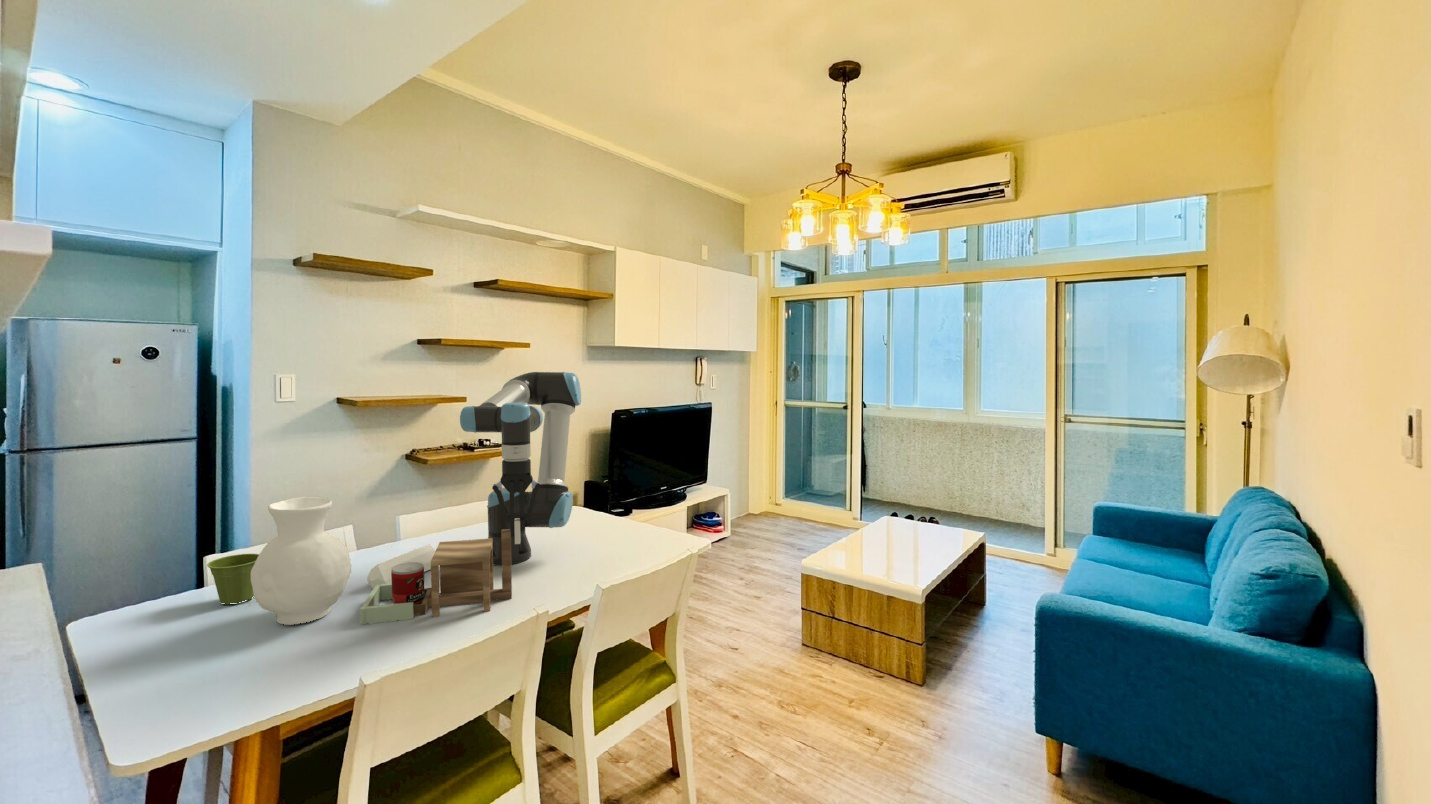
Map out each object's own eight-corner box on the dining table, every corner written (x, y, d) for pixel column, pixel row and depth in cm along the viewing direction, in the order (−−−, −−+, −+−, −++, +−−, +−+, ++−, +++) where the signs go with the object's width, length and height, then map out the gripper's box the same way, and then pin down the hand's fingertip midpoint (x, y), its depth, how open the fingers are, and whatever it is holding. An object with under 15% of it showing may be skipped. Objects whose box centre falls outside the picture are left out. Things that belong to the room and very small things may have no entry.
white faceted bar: (421, 549, 197) (356, 575, 174) (436, 541, 195) (372, 565, 172) (430, 570, 197) (367, 598, 174) (446, 562, 194) (383, 589, 172)
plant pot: (274, 596, 168) (272, 556, 167) (224, 613, 157) (222, 570, 156) (249, 589, 173) (247, 550, 172) (199, 604, 162) (197, 563, 161)
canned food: (410, 614, 158) (409, 573, 157) (385, 611, 160) (383, 570, 159) (431, 603, 165) (430, 563, 164) (407, 599, 167) (405, 560, 166)
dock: (376, 598, 167) (376, 584, 167) (423, 594, 171) (423, 580, 170) (360, 624, 152) (360, 609, 151) (412, 619, 155) (412, 603, 155)
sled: (396, 599, 167) (394, 532, 165) (512, 588, 176) (511, 524, 174) (386, 618, 155) (384, 545, 154) (511, 605, 164) (510, 536, 163)
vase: (310, 638, 144) (304, 514, 142) (234, 630, 148) (227, 509, 145) (368, 606, 162) (364, 496, 160) (299, 599, 166) (294, 491, 164)
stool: (441, 592, 172) (439, 542, 171) (493, 587, 176) (492, 538, 175) (432, 617, 156) (430, 561, 155) (490, 610, 161) (488, 556, 159)
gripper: (490, 462, 162) (492, 548, 164) (541, 460, 166) (542, 544, 167) (492, 457, 169) (493, 540, 171) (540, 455, 173) (541, 536, 175)
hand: (517, 542), depth 169 cm, fingers closed
